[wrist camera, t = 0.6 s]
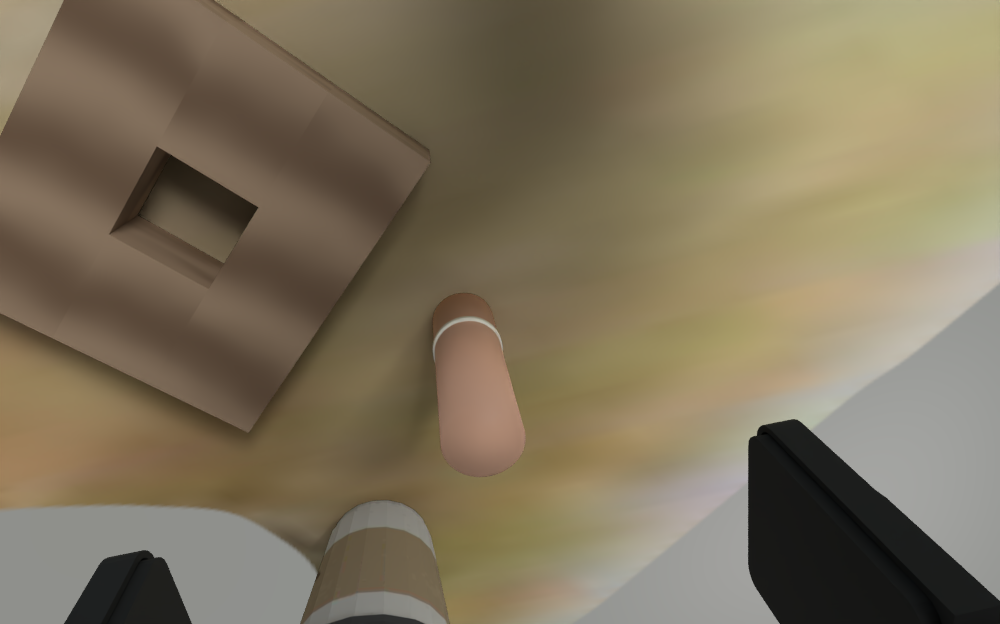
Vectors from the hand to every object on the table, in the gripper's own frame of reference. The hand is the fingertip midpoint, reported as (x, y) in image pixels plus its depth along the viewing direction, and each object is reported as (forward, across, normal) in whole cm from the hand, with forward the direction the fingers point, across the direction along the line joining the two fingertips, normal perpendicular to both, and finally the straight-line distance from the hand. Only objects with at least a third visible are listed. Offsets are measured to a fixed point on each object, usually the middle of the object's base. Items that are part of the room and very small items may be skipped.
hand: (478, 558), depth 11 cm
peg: (+32, -1, +9) cm, 34 cm away
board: (+32, +13, -1) cm, 35 cm away
